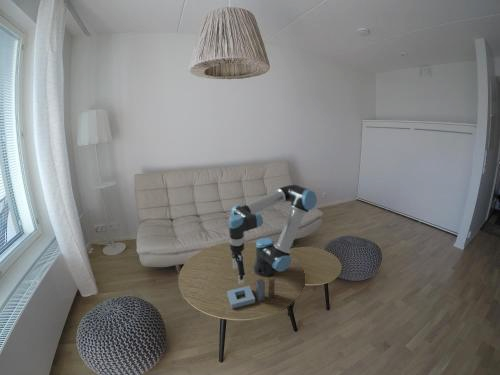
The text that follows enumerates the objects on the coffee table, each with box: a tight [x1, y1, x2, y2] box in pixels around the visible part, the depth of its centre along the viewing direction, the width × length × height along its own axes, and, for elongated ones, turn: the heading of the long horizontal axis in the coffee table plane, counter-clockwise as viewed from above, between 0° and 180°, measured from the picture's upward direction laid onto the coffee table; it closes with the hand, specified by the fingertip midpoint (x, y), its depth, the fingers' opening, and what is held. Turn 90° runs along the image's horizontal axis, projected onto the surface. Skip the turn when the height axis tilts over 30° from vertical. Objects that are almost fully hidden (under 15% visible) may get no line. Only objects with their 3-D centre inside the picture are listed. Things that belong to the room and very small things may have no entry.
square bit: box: [255, 278, 266, 303], centre depth 139 cm, size 4×4×12 cm
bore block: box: [226, 285, 256, 310], centre depth 141 cm, size 14×11×3 cm
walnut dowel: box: [267, 276, 276, 299], centre depth 141 cm, size 4×4×12 cm
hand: (238, 275), depth 136 cm, fingers open, 13 cm apart
